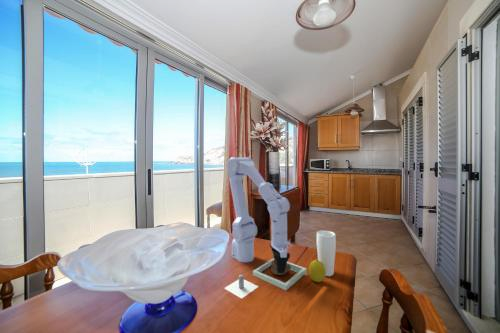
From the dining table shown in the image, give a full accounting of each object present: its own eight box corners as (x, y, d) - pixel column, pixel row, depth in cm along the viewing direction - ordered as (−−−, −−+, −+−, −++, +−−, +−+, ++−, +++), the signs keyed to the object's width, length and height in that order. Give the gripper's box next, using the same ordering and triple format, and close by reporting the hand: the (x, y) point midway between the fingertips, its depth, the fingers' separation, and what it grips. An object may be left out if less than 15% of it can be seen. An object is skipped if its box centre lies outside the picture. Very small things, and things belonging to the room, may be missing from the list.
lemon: (326, 288, 69) (326, 264, 69) (309, 286, 70) (309, 262, 70) (324, 279, 74) (324, 256, 74) (308, 277, 75) (308, 255, 75)
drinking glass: (316, 276, 76) (315, 235, 76) (317, 267, 83) (316, 229, 82) (336, 279, 74) (336, 237, 73) (335, 270, 80) (335, 231, 80)
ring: (273, 275, 74) (272, 266, 73) (270, 267, 79) (270, 259, 79) (291, 274, 74) (291, 265, 74) (288, 266, 79) (288, 258, 79)
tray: (252, 277, 76) (252, 271, 76) (274, 263, 86) (274, 257, 86) (286, 293, 67) (286, 285, 66) (306, 275, 77) (306, 268, 77)
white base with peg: (224, 291, 68) (223, 276, 68) (241, 280, 74) (240, 267, 74) (241, 301, 63) (241, 286, 63) (258, 289, 69) (258, 275, 69)
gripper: (295, 238, 69) (296, 278, 69) (285, 224, 84) (285, 258, 84) (274, 238, 69) (274, 279, 69) (267, 225, 83) (268, 259, 83)
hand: (279, 268), depth 76 cm, fingers closed on ring, 5 cm apart
